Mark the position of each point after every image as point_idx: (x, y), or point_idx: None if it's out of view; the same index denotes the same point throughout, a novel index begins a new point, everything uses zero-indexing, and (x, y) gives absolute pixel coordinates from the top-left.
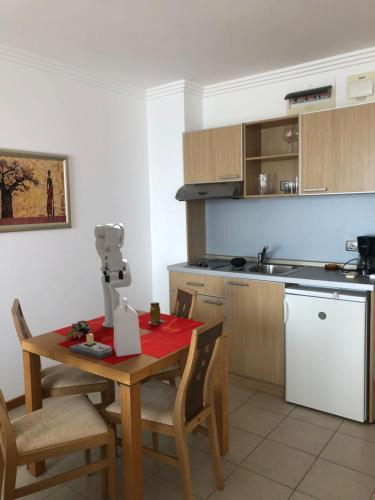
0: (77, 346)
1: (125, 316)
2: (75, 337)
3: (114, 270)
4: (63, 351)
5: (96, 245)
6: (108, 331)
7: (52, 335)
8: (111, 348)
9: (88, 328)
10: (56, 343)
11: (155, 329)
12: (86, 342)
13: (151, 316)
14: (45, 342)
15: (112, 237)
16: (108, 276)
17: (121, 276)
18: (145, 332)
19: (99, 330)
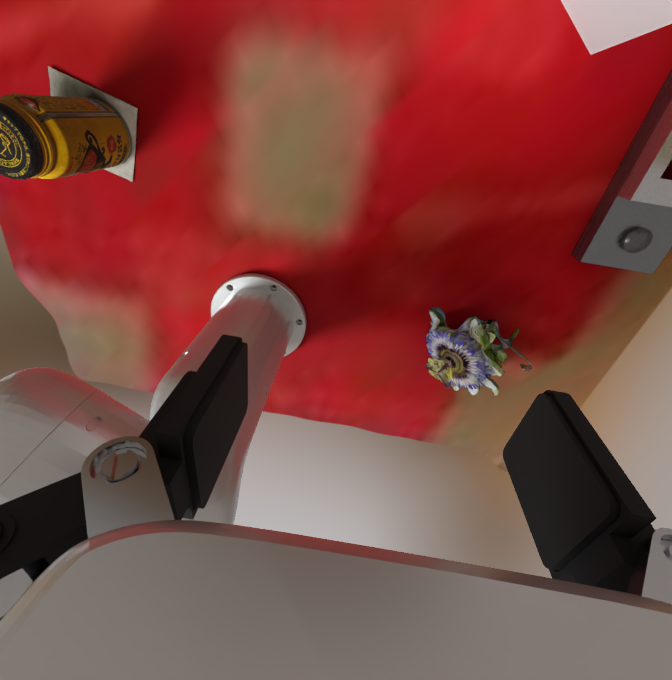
0: (653, 239)
1: None
2: (518, 330)
3: (598, 603)
4: (655, 284)
5: None
6: (347, 278)
7: (465, 428)
8: None
9: (475, 317)
10: (551, 368)
11: (191, 35)
12: (667, 198)
13: (104, 147)
14: None
15: None
16: (630, 499)
17: (228, 389)
18: (270, 63)
19: (352, 321)
